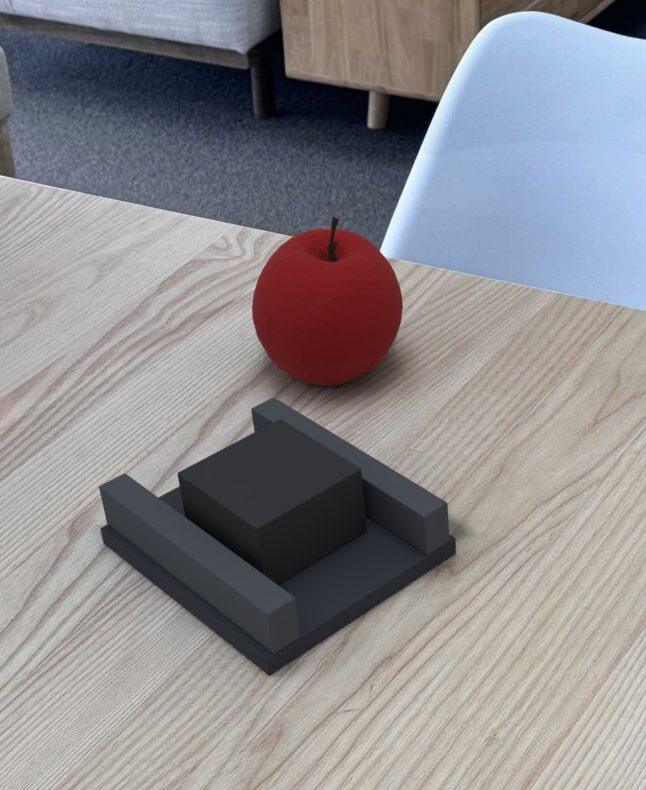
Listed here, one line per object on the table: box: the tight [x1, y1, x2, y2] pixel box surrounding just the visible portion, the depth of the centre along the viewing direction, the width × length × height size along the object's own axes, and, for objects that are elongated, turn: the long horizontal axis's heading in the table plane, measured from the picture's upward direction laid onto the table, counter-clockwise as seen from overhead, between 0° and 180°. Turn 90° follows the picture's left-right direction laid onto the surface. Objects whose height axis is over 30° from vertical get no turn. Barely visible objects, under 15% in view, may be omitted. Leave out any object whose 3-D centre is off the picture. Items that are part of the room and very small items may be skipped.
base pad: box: [98, 397, 457, 676], centre depth 71 cm, size 14×12×4 cm
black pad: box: [177, 419, 367, 585], centre depth 70 cm, size 6×6×4 cm
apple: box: [251, 215, 404, 387], centre depth 84 cm, size 9×9×10 cm
